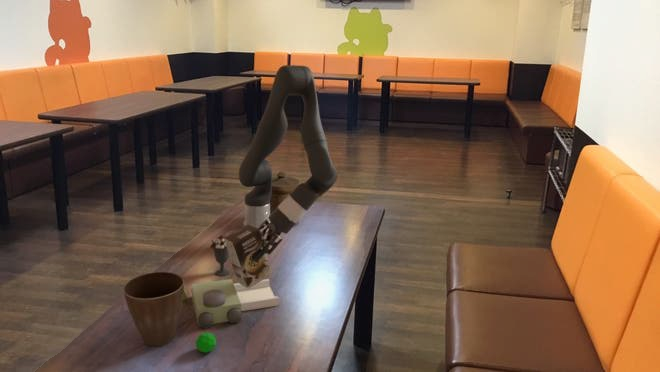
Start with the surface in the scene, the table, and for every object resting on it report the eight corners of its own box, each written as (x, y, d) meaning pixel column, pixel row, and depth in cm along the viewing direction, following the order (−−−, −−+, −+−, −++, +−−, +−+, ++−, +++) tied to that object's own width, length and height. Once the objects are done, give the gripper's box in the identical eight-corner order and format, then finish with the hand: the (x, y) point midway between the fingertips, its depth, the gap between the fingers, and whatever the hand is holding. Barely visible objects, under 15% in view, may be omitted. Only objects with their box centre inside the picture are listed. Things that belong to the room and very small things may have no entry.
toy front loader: (192, 296, 166) (190, 274, 164) (268, 285, 174) (268, 264, 171) (198, 329, 148) (197, 305, 146) (284, 315, 156) (283, 292, 154)
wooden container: (297, 228, 222) (297, 177, 216) (261, 228, 222) (260, 176, 216) (300, 216, 236) (300, 167, 230) (266, 215, 236) (265, 167, 230)
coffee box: (248, 289, 159) (234, 244, 152) (236, 282, 164) (222, 237, 157) (273, 274, 164) (260, 229, 157) (260, 267, 169) (248, 223, 162)
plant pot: (155, 362, 134) (150, 304, 129) (116, 343, 141) (110, 288, 137) (199, 334, 146) (196, 280, 141) (161, 318, 153) (157, 267, 149)
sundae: (236, 270, 184) (234, 229, 179) (224, 278, 178) (222, 236, 174) (220, 267, 186) (218, 226, 182) (208, 274, 181) (206, 232, 176)
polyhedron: (192, 353, 138) (191, 337, 136) (203, 343, 142) (202, 327, 141) (209, 358, 136) (208, 341, 134) (220, 347, 140) (219, 331, 139)
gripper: (273, 199, 166) (237, 238, 166) (284, 214, 153) (246, 257, 153) (290, 214, 170) (255, 252, 169) (303, 229, 157) (265, 271, 156)
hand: (250, 254), depth 161 cm, fingers closed on coffee box, 8 cm apart
